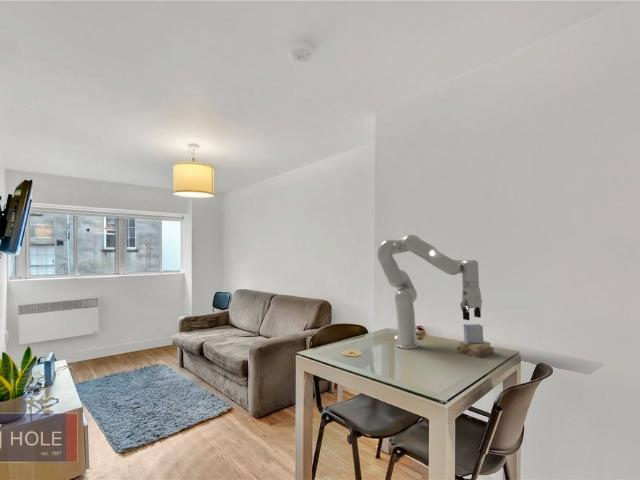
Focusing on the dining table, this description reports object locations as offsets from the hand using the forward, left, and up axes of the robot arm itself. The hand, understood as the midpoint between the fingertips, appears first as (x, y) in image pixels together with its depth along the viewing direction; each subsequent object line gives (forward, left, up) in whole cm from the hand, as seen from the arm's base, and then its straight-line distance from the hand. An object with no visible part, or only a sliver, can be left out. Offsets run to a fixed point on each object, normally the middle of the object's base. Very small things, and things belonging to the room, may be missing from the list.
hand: (472, 318), depth 162 cm
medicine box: (0, 0, -12) cm, 12 cm away
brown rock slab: (0, 0, -17) cm, 17 cm away
